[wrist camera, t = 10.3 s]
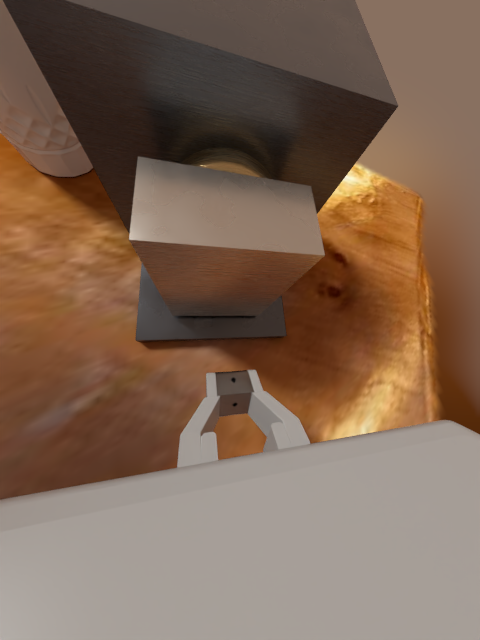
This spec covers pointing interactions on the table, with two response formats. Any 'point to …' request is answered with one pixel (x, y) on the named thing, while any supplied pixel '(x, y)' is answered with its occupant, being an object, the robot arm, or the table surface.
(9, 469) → the table surface
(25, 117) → the white cup
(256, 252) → the shaft
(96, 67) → the bearing block
